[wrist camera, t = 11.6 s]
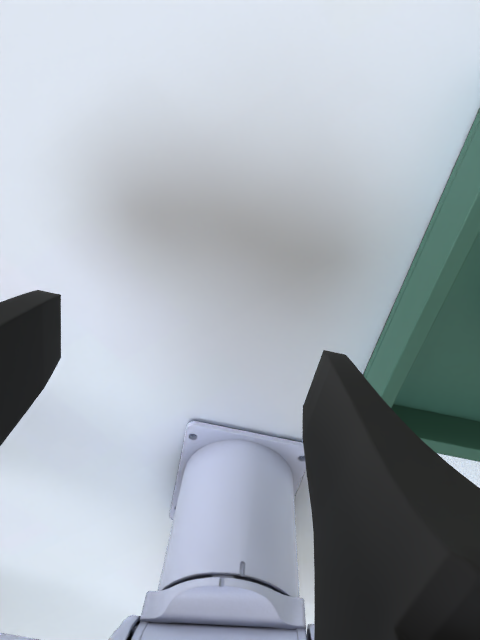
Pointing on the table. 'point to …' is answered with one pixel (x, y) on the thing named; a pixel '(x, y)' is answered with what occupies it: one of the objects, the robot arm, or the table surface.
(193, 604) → the robot arm
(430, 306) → the tray
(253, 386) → the table surface
